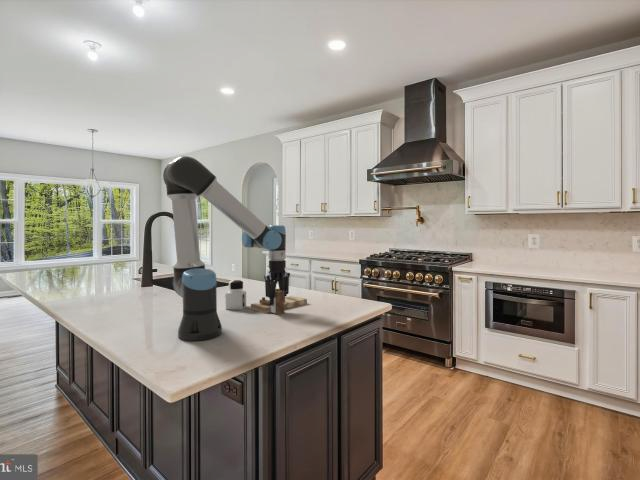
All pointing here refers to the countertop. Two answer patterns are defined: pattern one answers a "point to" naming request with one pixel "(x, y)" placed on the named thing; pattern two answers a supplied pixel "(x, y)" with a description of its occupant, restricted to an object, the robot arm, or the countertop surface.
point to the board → (289, 303)
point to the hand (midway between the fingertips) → (277, 311)
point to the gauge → (279, 301)
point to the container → (236, 296)
